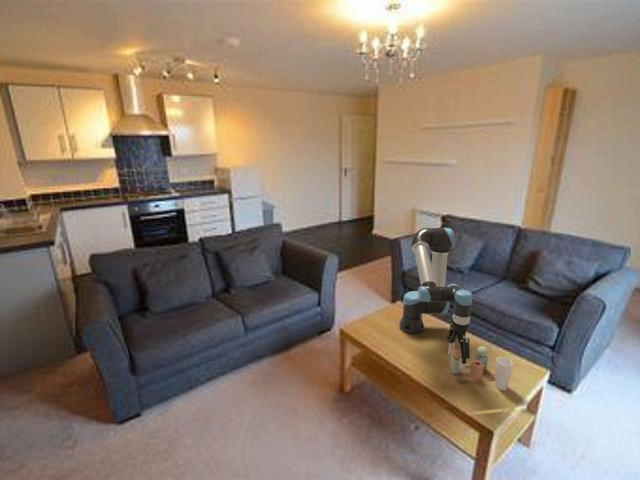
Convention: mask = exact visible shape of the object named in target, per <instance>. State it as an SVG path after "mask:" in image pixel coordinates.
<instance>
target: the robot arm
mask: <svg viewBox="0 0 640 480" xmlns="http://www.w3.org/2000/svg"><path fill="white" fill-rule="evenodd" d="M455 247H456V236H455V233H454V231H453V229H452V228H449V227H424V228H421V229H418V230H417V231H416V232H415V234H413V236H412V239H411V251H412V252H413V253H414V256H415V257H414V258H415V262H416V263H415V264H416V268H417V273H418V277H419V282H420V283H419V284H420V286H418V288H417V290H412V291H408V292H406V293H405V294H404V296H403V300H402V307H403V308H402V316H401V319H400V321H399V323H398V324H399V325H398V326H399V327H400V328H399V329H400V330H401V329H402V330H403V332H404V331H405V332H404V333H406V332H407V333H406V334H410V333H411V335H412V334H413V335H417V333H419V334H421V333H423V332H424V331H423V330H425V323H424V321H423V315H444V314H446V313H448V311H449V308H450V304H451V303H452V305H453V313H452V322H451V324H450V326H449V330H448V333H447V336H446V339H447V340H448V351H447V355H449V356H451V355H452V351H453V350H454V349H455V346H456V340H457V343H458V344H459V349H460V350H461V356H460V364H459V368H460V369H462V368H465V366H467V365H466V364H467V360H468V359H470V358H471V356H470V355H471V354H470V353H471V352H470V351H471V350H470V338H469V337H467V335H466V333H467V332H468V331H469V329H470V328H469V327H470V321H471V312H472V311H471V310H472V303H473V293H472V292H471V291H469V290H466V289H463V288H462V287H460V286H459V285H458V284H456V283H451V284H448V285H447V286H445V285H446V278H447V277H446V276H447V265H448V264H447V263H448V257H449V256H448V255H449V254H450V253H451V252H452V249H454V248H455ZM429 251H430V252H431V257H430V252H429ZM402 330H401V331H402Z"/></svg>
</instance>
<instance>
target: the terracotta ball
mask: <svg viewBox="0 0 640 480" xmlns="http://www.w3.org/2000/svg"><path fill="white" fill-rule="evenodd" d="M452 356H453V357H454V358H455V359H460V356H461V350H460V348H454V350H453V351H452Z"/></svg>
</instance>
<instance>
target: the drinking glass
mask: <svg viewBox="0 0 640 480" xmlns="http://www.w3.org/2000/svg"><path fill="white" fill-rule="evenodd" d="M513 367H514V363H513V361H512V360H511V359H509V358H508V357H505V356H499V357H497V358H496V363H495V374H494V378H495V381H494V387H495V388H496V389H498V390H500V391H507V390H508V386H509V383H510V379H511V375H512V372H513Z"/></svg>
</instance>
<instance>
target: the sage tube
mask: <svg viewBox="0 0 640 480" xmlns="http://www.w3.org/2000/svg"><path fill="white" fill-rule="evenodd" d="M459 364H460V359H455V358H454V357H453V356H452V355H450V361H449V367H450V370H451V371H452V373H453V374H457V373H461V369H460V368H459Z"/></svg>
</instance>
